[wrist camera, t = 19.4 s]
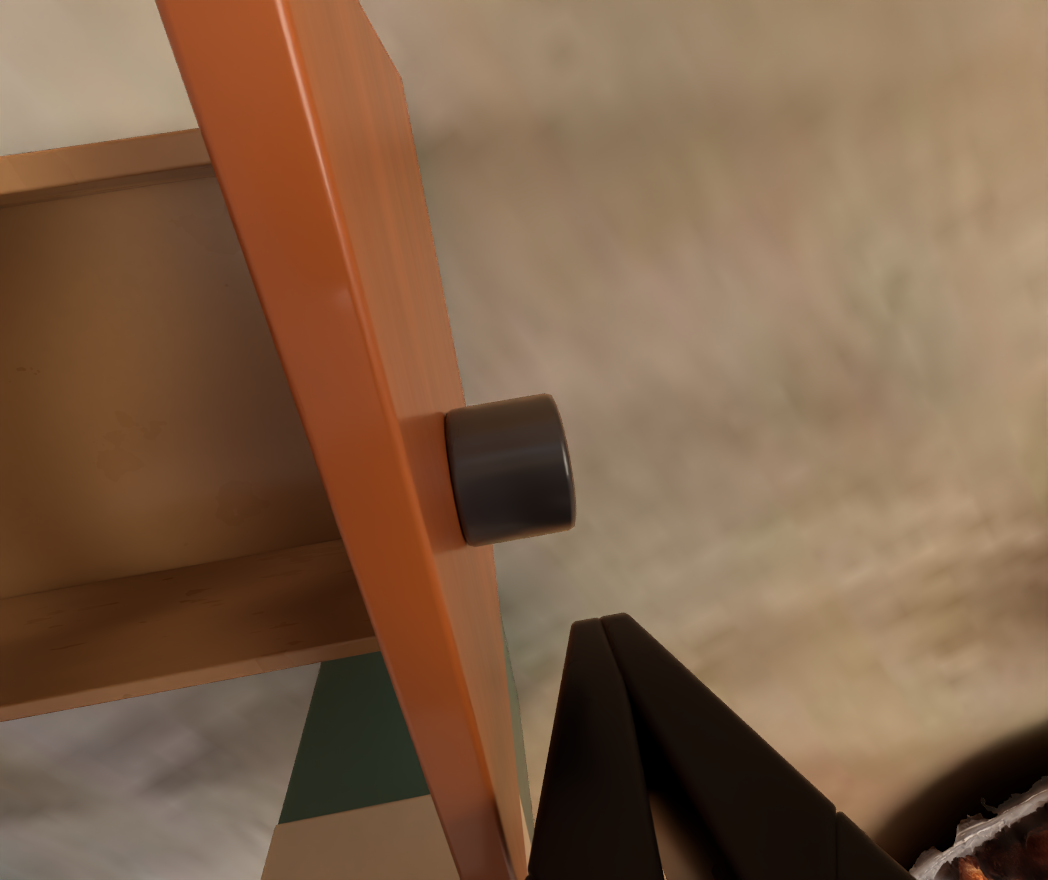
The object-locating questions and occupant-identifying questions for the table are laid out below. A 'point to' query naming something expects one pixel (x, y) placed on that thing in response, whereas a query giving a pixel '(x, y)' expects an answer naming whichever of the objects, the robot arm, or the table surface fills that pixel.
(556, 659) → the table surface
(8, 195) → the drawer
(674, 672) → the robot arm
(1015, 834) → the food plate
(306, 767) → the long rectangular block
